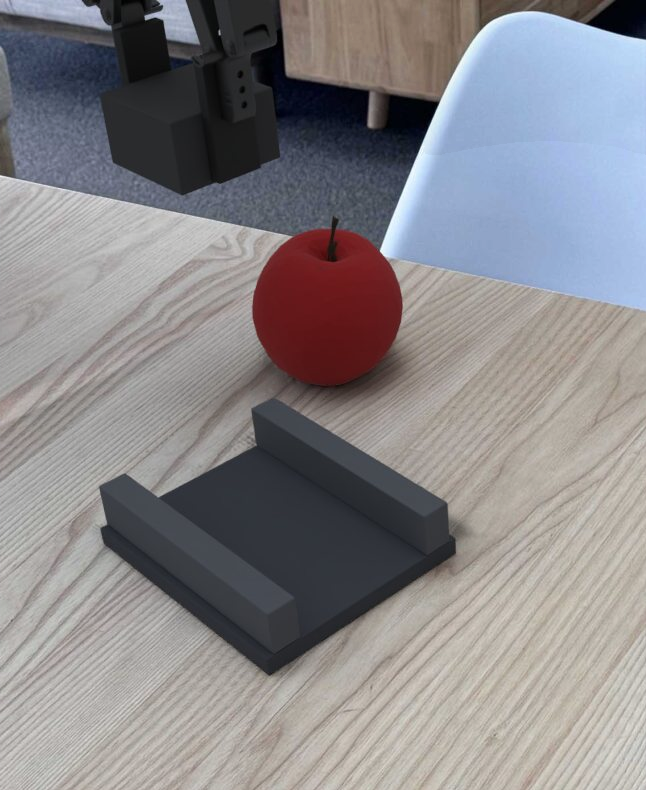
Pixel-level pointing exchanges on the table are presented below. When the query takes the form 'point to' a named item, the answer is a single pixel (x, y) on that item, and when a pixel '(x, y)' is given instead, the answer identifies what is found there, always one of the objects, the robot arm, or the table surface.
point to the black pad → (173, 129)
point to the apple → (327, 306)
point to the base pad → (281, 537)
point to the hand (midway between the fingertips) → (195, 155)
